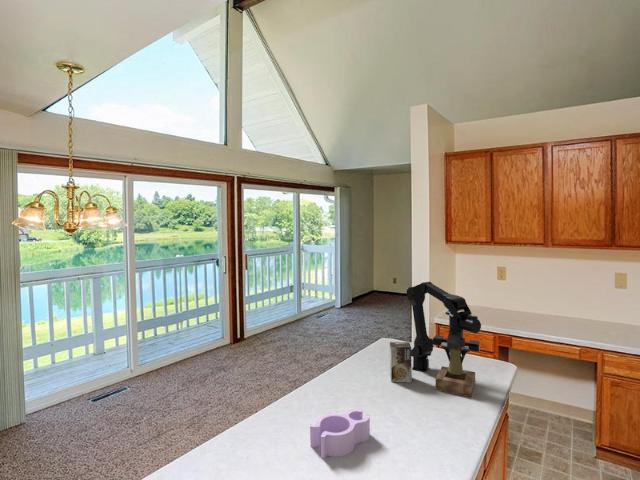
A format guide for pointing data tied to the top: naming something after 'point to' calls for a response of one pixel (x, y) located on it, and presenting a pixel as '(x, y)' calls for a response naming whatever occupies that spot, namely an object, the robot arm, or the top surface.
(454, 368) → the olive tall rounded piece
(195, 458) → the top surface
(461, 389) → the well block
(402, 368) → the coffee box
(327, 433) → the clip
